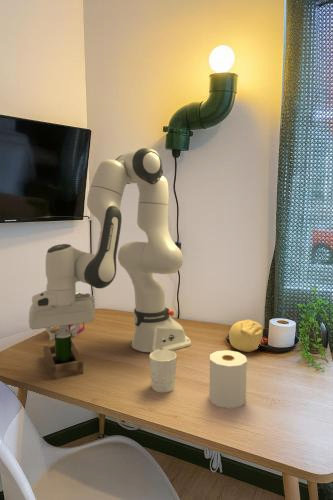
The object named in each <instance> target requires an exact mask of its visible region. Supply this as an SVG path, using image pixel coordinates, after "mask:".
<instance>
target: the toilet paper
mask: <svg viewBox="0 0 333 500" xmlns="http://www.w3.org/2000/svg"><path fill="white" fill-rule="evenodd" d="M247 366H248V359H247V356H246V355H244V354H243V353H241V352H239V351H233V350H228V349H226V350H216V351H214V352H213V353H210V354H209V394H208V395H209V396H208V397H209V401H210V402H212V404H213V405H215V406H217V407H220V408H226V409H232V408H233V409H234V408H240V407H241V406H242V404H243V405H244V404H245V403H246V402H247V375H248V374H247V368H248V367H247Z"/></svg>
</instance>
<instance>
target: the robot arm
mask: <svg viewBox="0 0 333 500" xmlns="http://www.w3.org/2000/svg"><path fill="white" fill-rule="evenodd" d="M163 173H164V170H163V161H162V158H161V156H160V154H159V152H158V151H157V150H154V149H153V148H148V147H147V148H146V147H144V148H143V147H142V148H140V149H139V148H138V149H134V150H131V151H129V152H127V153H124V154H122V155H120V156H118V157H117V158H116V159H105V160H103V161H101V162H100V163H99V165H98V167H97V169H96V171H95V173H94V175H93V177H92V181H91V183H90V186H89V190H88V193H87V198H86V199H87V200H86V205H87V208H88V211H89V212H90V213H91V214H92V216H93V217H95V218H96V219H97V220H98V222H99V224H100V233H99V238H98V244H97V250H96V252H95V254H94V253H90V252H86V251H82V250H79V249H77V248H75V247H74V246H72V245H71V244H68V243H62V244H57V245H56V244H55V245H54V246H51V247H50V248H48V249H47V252H46V254H45V277H46V279H47V284H46V290H44V291H42V292H40V293H36V294H34V295H33V296H32V298H31V303H32V304H31V306H30V307H29V312H28V327H29V328H30V329H31V330H40V329H45V331H46V333H47V334H48V336H49V341H55V333H52V328H56V327H60V326H64V325H71V324H74V325H75V328H74V330H73V331H71V333H72V338H77V335H78V334H77V331H78V329H79V327H80V323H84V324H87V323H92V322H94V320H95V316H96V315H95V309H94V305H95V295H93V294H91V293H88V292H87V293H83V294H77V295H76V292H77V291H76V285H77V284H76V283H77V282H80V283H84V284H86V285H87V284H88V285H89V286H91V287H93V288H96V289H104V288H107V287H108V286H110V285H111V283H112V282H113V281H114V279H115V277H116V275H117V259H118V263H119V264H120V267H122V268H123V269H124V270H125V271H126V273H127V274H128V276H129V278H130V280H131V283H132V286H133V290H134V291H133V292H134V306H135V308H134V309H133V310H134V311H133V321H134V331H133V338H132V341H131V347H132V349H134V350H136V351H138V352H142V353H152V352H154V351H157V350H170V351H173V352H174V351H175V350H180V349H182V348H186V347H190V346H191V344H192V341H191V339H190V338H189V336H187V335H186V334H185V330H184V327H183V325H181V323H179V322H177V321H176V320H175V319H173V318H172V317H173V316H174V315H175V311H174V310H172V309H169V308H167V307H166V291H165V287H164V285H163V284H162V283H161V282H159V281H158V280H157V279H156V277H155V275H154V274H157V275H170V274H171V275H172V274H175V273H178V271H180V270H181V269H182V265H183V262H184V256H183V253H182V250H181V249H180V247H178V246H177V245H176V244H175V242H174V241H173V238H172V237H171V235H170V230H169V204H170V200H169V199H170V198H169V197H170V196H169V195H170V193H169V184H168V183H169V182H168V180H167V178H166V177H165V176H163ZM130 184H136V185H137V188H138V193H139V196H138V202H137V203H138V204H137V214H136V215H137V219H136V222H137V226H138V228H139V229H140V230H141V231H142V232H144V233H145V235H146V237H147V241H130V242H125V243H122V245H121V246H120V247H118V246H119V241H120V235H121V234H120V233H121V229H122V211H121V204H122V203H121V202H122V199H123V195H124V191H125V188H126V186H127V185H130ZM118 248H119V249H118Z"/></svg>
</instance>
